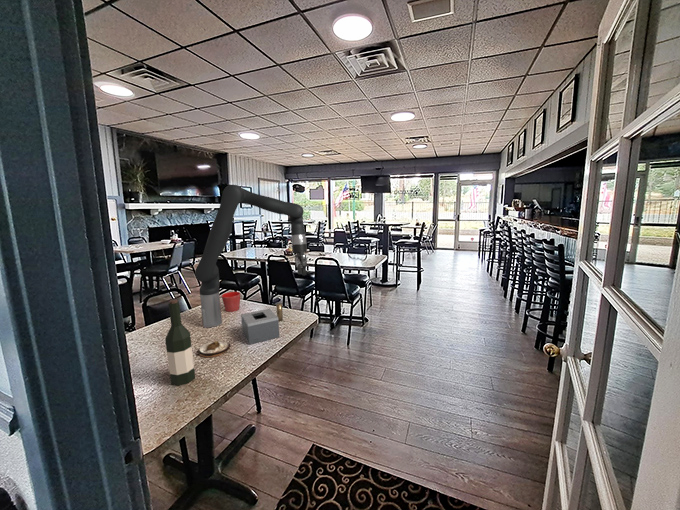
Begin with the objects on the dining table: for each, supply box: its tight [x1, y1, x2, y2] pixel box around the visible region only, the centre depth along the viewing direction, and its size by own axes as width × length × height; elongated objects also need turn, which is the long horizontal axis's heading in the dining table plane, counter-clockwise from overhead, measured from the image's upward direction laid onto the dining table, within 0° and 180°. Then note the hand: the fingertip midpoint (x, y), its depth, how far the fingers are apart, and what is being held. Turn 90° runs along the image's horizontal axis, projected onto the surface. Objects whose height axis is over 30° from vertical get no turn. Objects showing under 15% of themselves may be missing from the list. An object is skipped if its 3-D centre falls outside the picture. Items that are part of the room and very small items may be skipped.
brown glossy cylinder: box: [275, 302, 284, 323], centre depth 161 cm, size 3×3×9 cm
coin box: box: [240, 308, 280, 346], centre depth 143 cm, size 14×14×10 cm
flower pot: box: [221, 291, 241, 313], centre depth 179 cm, size 11×11×10 cm
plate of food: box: [198, 339, 232, 359], centre depth 130 cm, size 15×15×4 cm
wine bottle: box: [164, 298, 196, 387], centre depth 107 cm, size 8×8×30 cm
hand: (302, 274), depth 156 cm, fingers open, 8 cm apart
